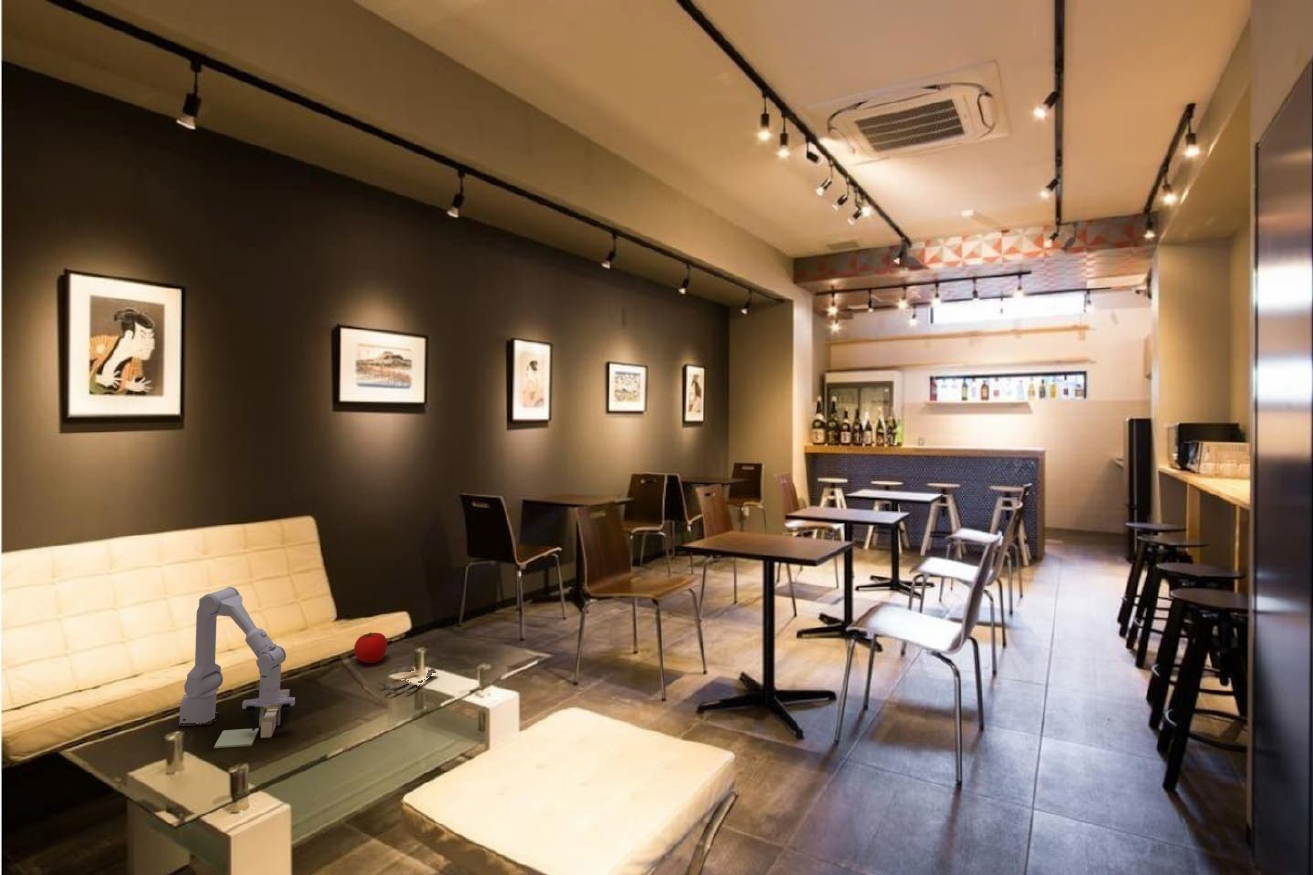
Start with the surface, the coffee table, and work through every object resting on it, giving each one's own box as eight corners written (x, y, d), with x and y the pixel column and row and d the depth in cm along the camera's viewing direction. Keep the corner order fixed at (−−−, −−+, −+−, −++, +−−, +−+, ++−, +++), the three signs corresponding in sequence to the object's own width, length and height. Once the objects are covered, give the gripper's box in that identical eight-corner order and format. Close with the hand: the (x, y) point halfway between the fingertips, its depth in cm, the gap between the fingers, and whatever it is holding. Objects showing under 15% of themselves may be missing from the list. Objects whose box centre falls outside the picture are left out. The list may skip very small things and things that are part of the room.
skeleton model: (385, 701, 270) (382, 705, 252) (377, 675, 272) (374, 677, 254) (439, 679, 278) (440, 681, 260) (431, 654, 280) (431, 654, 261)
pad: (214, 748, 212) (214, 746, 212) (222, 732, 221) (223, 730, 221) (251, 745, 215) (251, 743, 215) (258, 729, 225) (258, 728, 225)
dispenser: (258, 727, 227) (260, 706, 226) (266, 709, 238) (267, 690, 238) (281, 725, 229) (282, 705, 228) (288, 708, 240) (289, 689, 240)
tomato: (394, 659, 289) (396, 632, 288) (368, 670, 277) (370, 641, 276) (372, 652, 294) (374, 625, 294) (345, 662, 282) (347, 635, 281)
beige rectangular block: (260, 738, 220) (261, 722, 220) (266, 723, 230) (267, 708, 229) (271, 737, 221) (272, 722, 221) (277, 722, 231) (278, 707, 230)
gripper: (240, 693, 216) (238, 735, 217) (293, 690, 221) (291, 732, 221) (246, 683, 222) (244, 725, 223) (296, 681, 227) (294, 721, 228)
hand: (267, 728), depth 223 cm, fingers open, 7 cm apart
